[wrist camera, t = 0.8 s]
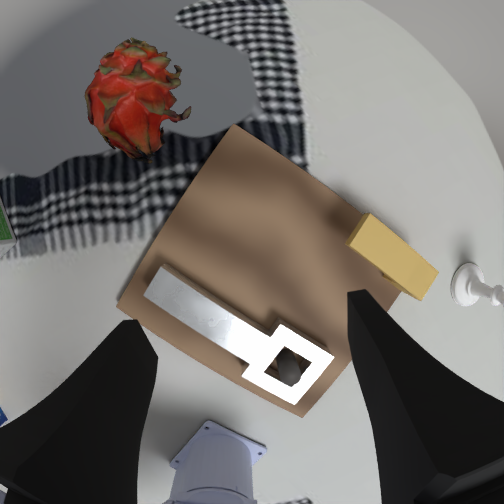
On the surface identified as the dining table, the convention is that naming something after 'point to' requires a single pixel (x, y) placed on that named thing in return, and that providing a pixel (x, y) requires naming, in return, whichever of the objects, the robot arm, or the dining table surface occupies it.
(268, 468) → the dining table surface
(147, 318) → the board
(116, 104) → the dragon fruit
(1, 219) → the skincare box
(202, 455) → the robot arm
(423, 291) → the block
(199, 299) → the link
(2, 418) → the beverage box
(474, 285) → the chess piece
